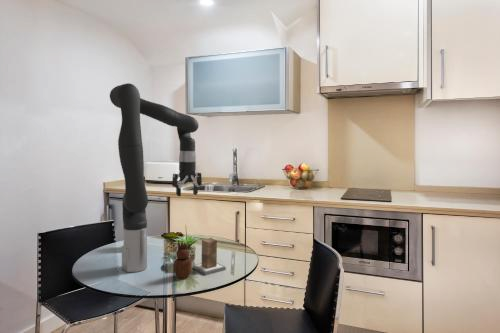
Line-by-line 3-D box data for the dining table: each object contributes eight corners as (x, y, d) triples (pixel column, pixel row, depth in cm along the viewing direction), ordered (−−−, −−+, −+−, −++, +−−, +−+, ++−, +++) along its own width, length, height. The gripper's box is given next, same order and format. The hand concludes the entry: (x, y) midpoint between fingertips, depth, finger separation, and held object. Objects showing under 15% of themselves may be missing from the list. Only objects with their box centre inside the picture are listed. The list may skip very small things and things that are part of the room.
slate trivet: (205, 275, 138) (205, 272, 138) (192, 268, 146) (192, 265, 146) (225, 269, 145) (225, 266, 145) (212, 263, 152) (212, 260, 152)
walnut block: (207, 268, 142) (207, 242, 141) (201, 265, 145) (201, 239, 145) (216, 266, 145) (216, 240, 144) (210, 263, 148) (210, 238, 148)
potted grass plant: (174, 280, 132) (174, 242, 131) (173, 274, 138) (173, 238, 137) (192, 279, 134) (192, 241, 133) (190, 273, 140) (190, 237, 139)
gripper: (177, 161, 153) (177, 197, 154) (204, 160, 162) (204, 195, 163) (169, 160, 159) (169, 195, 160) (196, 160, 168) (196, 193, 169)
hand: (187, 195), depth 161 cm, fingers open, 8 cm apart
